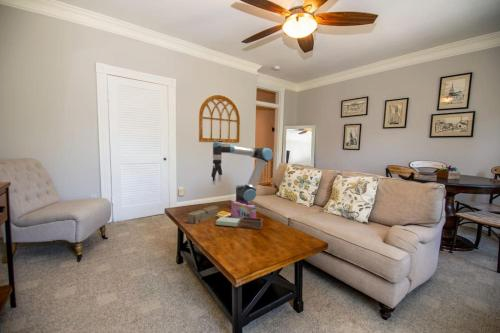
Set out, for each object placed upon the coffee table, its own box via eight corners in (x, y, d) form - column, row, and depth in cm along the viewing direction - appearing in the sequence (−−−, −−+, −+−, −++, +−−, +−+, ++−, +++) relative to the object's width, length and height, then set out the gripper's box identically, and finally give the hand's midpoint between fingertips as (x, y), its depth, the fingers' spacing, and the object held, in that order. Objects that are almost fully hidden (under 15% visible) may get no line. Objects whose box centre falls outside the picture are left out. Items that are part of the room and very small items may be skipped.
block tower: (194, 225, 178) (219, 215, 202) (194, 215, 177) (219, 206, 201) (187, 223, 182) (212, 213, 207) (187, 213, 181) (212, 204, 205)
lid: (220, 221, 186) (220, 216, 185) (240, 223, 182) (240, 218, 182) (216, 225, 176) (216, 220, 176) (236, 227, 172) (237, 222, 172)
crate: (242, 224, 180) (243, 216, 179) (262, 226, 176) (262, 218, 176) (240, 227, 173) (240, 219, 172) (261, 229, 169) (261, 221, 169)
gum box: (229, 216, 198) (229, 201, 197) (235, 214, 204) (236, 200, 203) (250, 223, 183) (250, 206, 182) (256, 220, 189) (256, 205, 188)
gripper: (218, 158, 212) (218, 180, 214) (207, 160, 187) (207, 185, 189) (225, 158, 210) (225, 181, 212) (215, 160, 186) (215, 185, 188)
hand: (217, 183), depth 201 cm, fingers open, 13 cm apart
